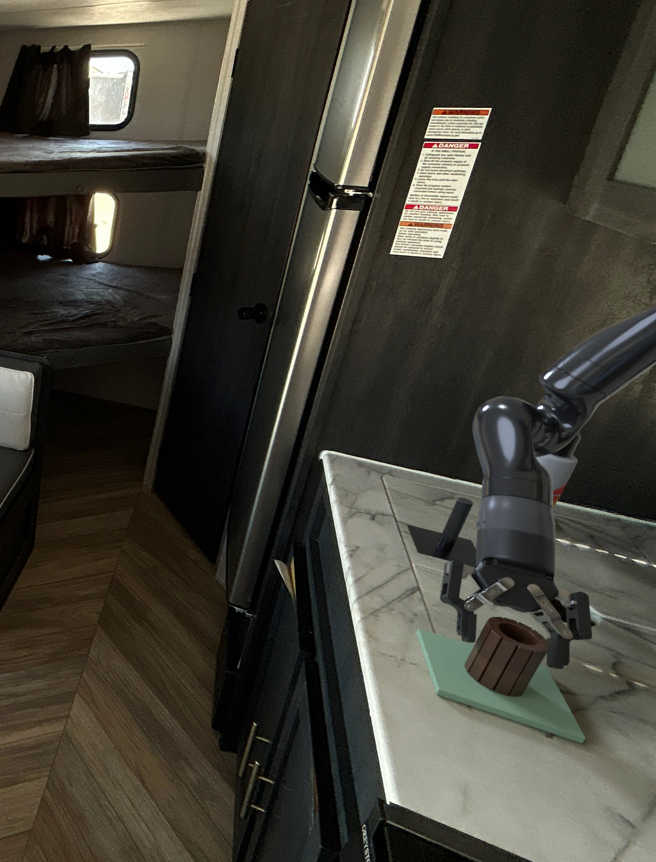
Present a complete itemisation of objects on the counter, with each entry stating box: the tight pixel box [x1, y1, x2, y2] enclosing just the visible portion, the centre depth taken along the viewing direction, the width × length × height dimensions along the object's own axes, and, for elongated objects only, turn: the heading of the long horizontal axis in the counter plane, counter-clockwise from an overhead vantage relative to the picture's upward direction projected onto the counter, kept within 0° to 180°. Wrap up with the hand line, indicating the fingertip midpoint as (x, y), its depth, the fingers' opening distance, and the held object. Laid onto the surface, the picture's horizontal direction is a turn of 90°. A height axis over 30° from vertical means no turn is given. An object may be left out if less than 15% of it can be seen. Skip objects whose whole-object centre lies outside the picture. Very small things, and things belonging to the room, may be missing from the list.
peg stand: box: [406, 496, 476, 567], centre depth 108 cm, size 9×9×11 cm
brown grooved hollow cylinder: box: [464, 616, 550, 696], centre depth 83 cm, size 6×6×8 cm
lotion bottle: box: [536, 431, 582, 510], centre depth 114 cm, size 6×6×20 cm
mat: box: [415, 628, 586, 744], centre depth 85 cm, size 14×12×1 cm
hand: (510, 654), depth 83 cm, fingers open, 8 cm apart
